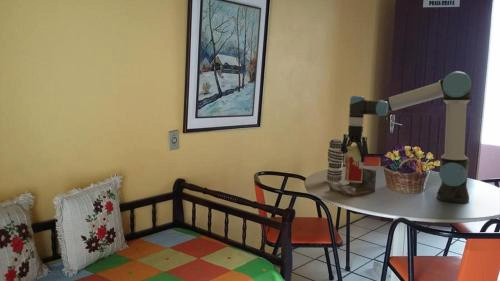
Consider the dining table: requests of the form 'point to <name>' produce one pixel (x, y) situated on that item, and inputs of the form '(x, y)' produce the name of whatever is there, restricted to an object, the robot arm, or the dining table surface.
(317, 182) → the dining table surface
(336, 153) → the decorative candle
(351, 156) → the milk carton
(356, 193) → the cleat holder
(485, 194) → the dining table surface
